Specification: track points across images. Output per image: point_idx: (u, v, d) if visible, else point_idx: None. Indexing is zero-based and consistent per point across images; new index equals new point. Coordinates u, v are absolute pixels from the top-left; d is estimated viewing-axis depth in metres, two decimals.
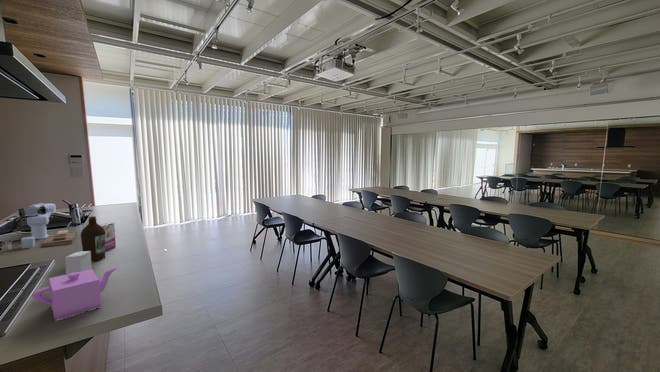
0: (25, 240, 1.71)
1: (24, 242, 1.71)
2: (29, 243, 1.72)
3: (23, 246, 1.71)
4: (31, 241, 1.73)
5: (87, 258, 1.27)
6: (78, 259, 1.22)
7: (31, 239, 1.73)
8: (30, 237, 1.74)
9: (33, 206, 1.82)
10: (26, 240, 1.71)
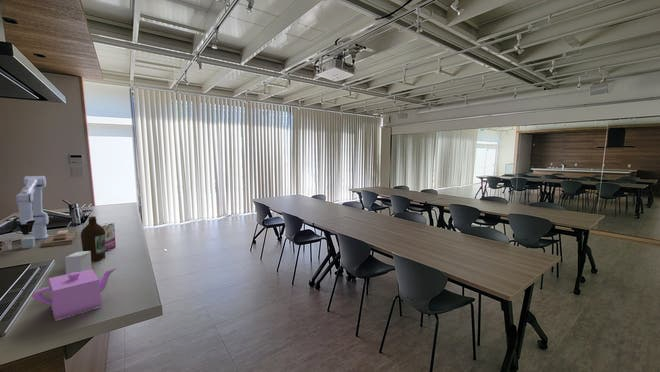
0: (25, 240, 1.71)
1: (24, 242, 1.71)
2: (29, 243, 1.72)
3: (23, 246, 1.71)
4: (31, 241, 1.73)
5: (87, 258, 1.27)
6: (78, 259, 1.22)
7: (31, 239, 1.73)
8: (30, 237, 1.74)
9: (18, 220, 1.70)
10: (26, 240, 1.71)
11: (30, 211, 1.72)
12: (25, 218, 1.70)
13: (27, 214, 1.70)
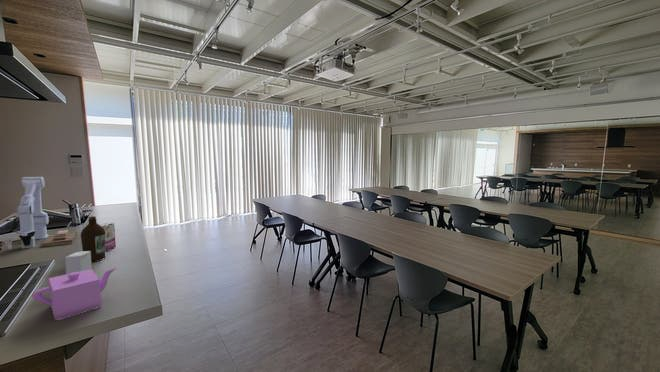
0: None
1: None
2: None
3: (23, 246, 1.71)
4: (31, 241, 1.73)
5: (87, 258, 1.27)
6: (78, 259, 1.22)
7: (31, 239, 1.73)
8: None
9: None
10: None
11: (31, 222, 1.72)
12: (26, 230, 1.71)
13: (28, 226, 1.71)
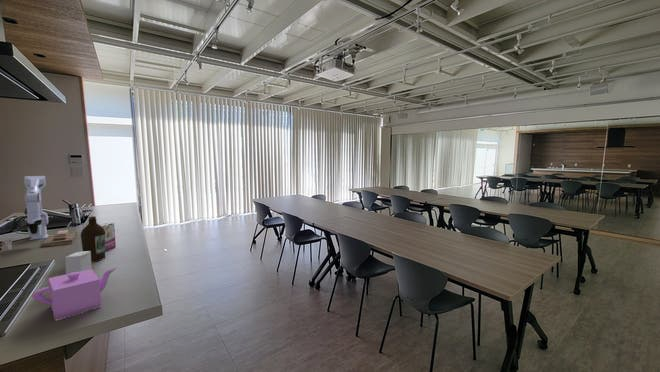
0: None
1: None
2: None
3: (30, 234, 1.72)
4: (38, 229, 1.74)
5: (87, 258, 1.27)
6: (78, 259, 1.22)
7: (38, 227, 1.74)
8: None
9: (27, 220, 1.72)
10: None
11: (38, 210, 1.74)
12: (33, 218, 1.72)
13: (35, 214, 1.73)
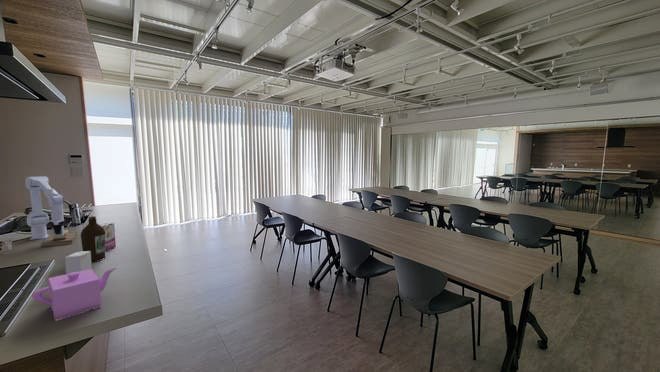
0: None
1: None
2: None
3: (54, 235, 1.79)
4: (61, 230, 1.81)
5: (87, 258, 1.27)
6: (78, 259, 1.22)
7: (61, 228, 1.81)
8: None
9: (51, 221, 1.79)
10: None
11: None
12: (57, 219, 1.79)
13: (59, 215, 1.80)
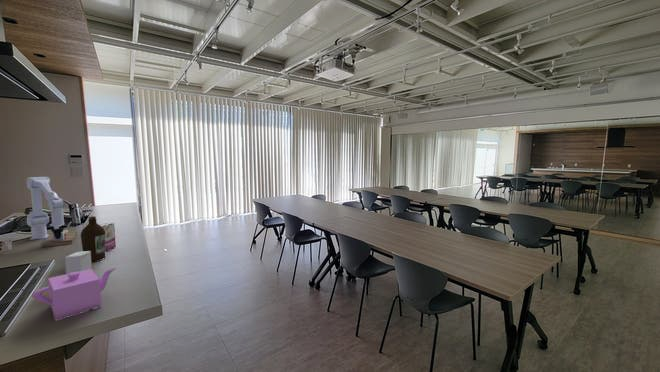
0: None
1: None
2: None
3: (54, 240, 1.80)
4: (61, 236, 1.82)
5: (87, 258, 1.27)
6: (78, 259, 1.22)
7: (61, 234, 1.82)
8: None
9: (51, 225, 1.80)
10: None
11: (63, 216, 1.83)
12: (57, 223, 1.80)
13: (59, 219, 1.80)
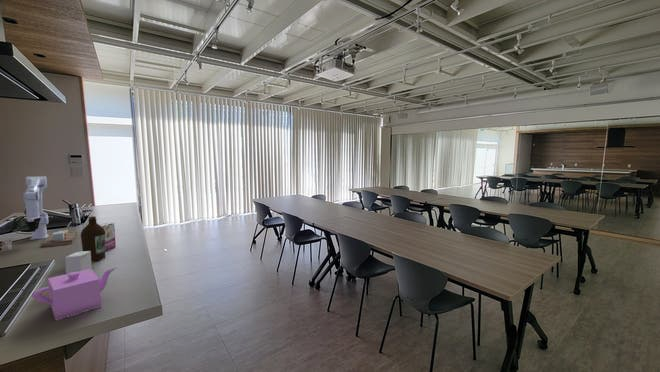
0: (56, 235, 1.80)
1: (55, 236, 1.80)
2: (59, 238, 1.81)
3: (54, 240, 1.80)
4: (61, 236, 1.82)
5: (87, 258, 1.27)
6: (78, 259, 1.22)
7: (61, 234, 1.82)
8: (60, 232, 1.83)
9: (26, 218, 1.75)
10: (56, 235, 1.80)
11: (37, 209, 1.78)
12: (32, 216, 1.76)
13: (34, 212, 1.76)
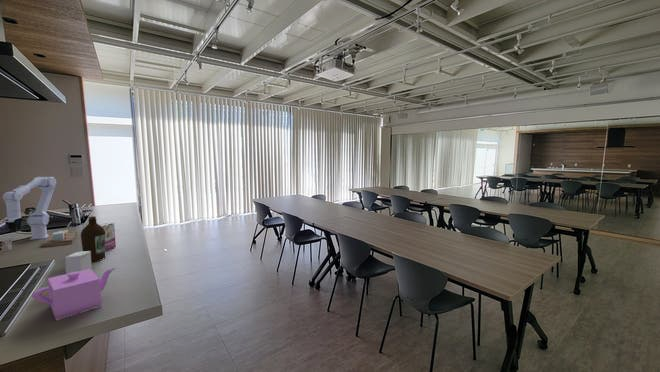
0: (56, 235, 1.80)
1: (55, 236, 1.80)
2: (59, 238, 1.81)
3: (54, 240, 1.80)
4: (61, 236, 1.82)
5: (87, 258, 1.27)
6: (78, 259, 1.22)
7: (61, 234, 1.82)
8: (60, 232, 1.83)
9: (6, 218, 1.73)
10: (56, 235, 1.80)
11: (15, 209, 1.73)
12: (13, 216, 1.73)
13: (15, 212, 1.73)
